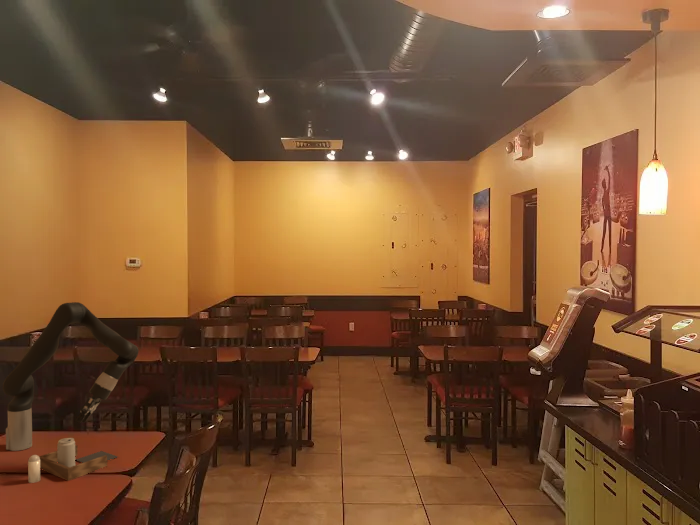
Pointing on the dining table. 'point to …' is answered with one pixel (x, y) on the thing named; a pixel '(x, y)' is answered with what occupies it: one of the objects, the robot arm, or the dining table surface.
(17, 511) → the dining table surface
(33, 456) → the salt shaker
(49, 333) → the robot arm
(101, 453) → the coaster
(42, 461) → the condiment rack
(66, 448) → the beverage can
